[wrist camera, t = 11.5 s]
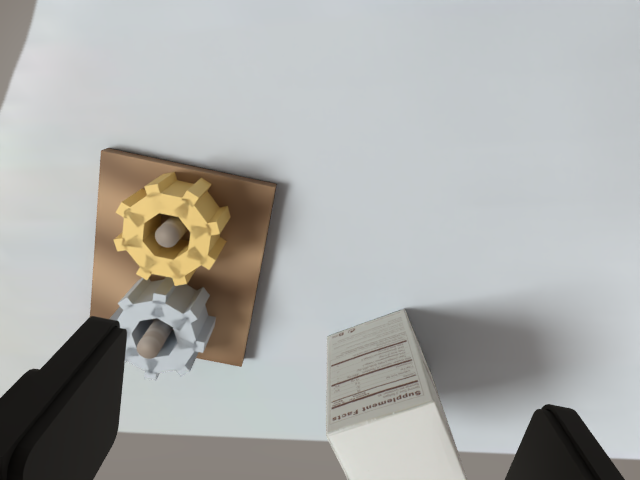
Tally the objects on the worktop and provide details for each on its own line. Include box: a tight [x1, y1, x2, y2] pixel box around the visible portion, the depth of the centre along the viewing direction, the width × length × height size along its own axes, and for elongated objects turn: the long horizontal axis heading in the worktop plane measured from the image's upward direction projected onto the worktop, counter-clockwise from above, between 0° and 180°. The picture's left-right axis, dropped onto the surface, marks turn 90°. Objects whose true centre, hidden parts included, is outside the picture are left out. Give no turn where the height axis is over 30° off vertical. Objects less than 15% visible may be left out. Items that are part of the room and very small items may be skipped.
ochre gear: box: [114, 172, 230, 286], centre depth 36 cm, size 7×7×4 cm
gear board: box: [90, 148, 277, 367], centre depth 37 cm, size 16×13×7 cm
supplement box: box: [326, 309, 467, 480], centre depth 37 cm, size 7×7×13 cm
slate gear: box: [110, 277, 216, 381], centre depth 39 cm, size 7×7×4 cm
